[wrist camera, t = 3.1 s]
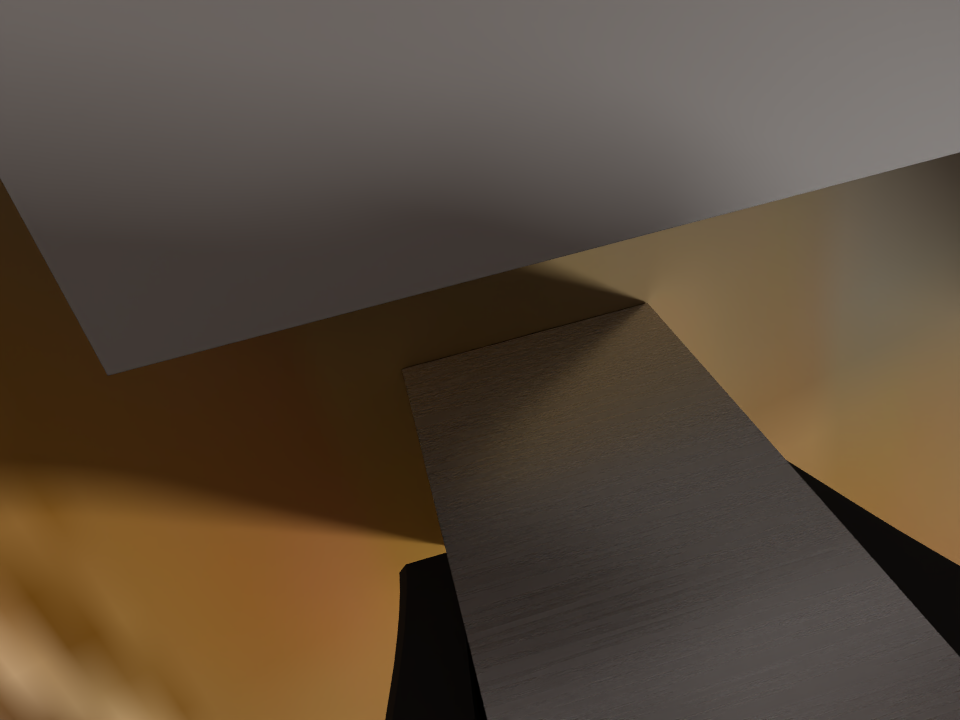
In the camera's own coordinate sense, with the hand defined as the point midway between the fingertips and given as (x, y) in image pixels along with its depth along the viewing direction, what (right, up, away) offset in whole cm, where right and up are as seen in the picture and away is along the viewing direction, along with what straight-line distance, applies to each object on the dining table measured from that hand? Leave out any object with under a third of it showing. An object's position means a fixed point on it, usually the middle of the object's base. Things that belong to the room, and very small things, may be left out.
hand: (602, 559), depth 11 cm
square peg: (-1, +1, +2) cm, 3 cm away
